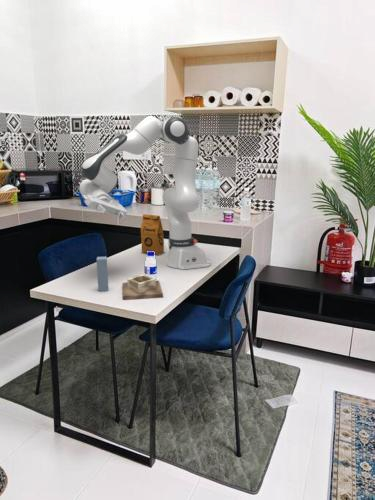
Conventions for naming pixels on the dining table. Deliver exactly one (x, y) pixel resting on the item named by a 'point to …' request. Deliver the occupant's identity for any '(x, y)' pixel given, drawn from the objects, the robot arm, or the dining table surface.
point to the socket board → (141, 295)
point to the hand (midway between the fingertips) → (114, 215)
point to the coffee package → (152, 234)
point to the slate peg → (102, 273)
